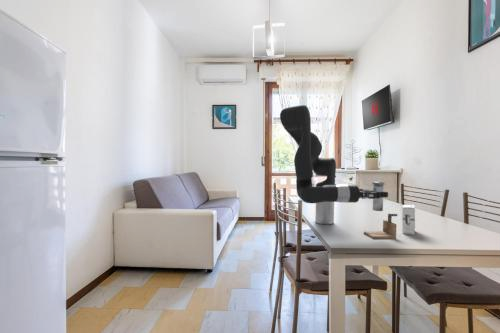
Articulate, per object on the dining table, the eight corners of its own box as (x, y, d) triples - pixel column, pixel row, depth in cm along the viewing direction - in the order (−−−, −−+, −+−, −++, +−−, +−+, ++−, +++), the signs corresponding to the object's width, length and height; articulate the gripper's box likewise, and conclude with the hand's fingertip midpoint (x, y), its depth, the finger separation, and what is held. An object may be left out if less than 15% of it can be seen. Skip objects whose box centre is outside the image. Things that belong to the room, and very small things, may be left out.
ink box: (402, 229, 134) (403, 204, 133) (415, 230, 131) (415, 205, 131) (401, 233, 126) (402, 206, 126) (414, 235, 124) (415, 207, 123)
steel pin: (369, 209, 123) (370, 181, 123) (380, 209, 123) (380, 181, 123) (375, 211, 118) (376, 182, 118) (386, 211, 119) (387, 182, 118)
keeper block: (363, 233, 125) (364, 212, 125) (390, 233, 126) (391, 212, 126) (372, 238, 117) (373, 215, 117) (401, 238, 118) (402, 215, 118)
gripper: (353, 186, 112) (394, 186, 114) (339, 183, 127) (376, 183, 128) (352, 205, 113) (394, 205, 114) (338, 200, 127) (375, 200, 128)
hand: (384, 193), depth 121 cm, fingers closed on steel pin, 4 cm apart
